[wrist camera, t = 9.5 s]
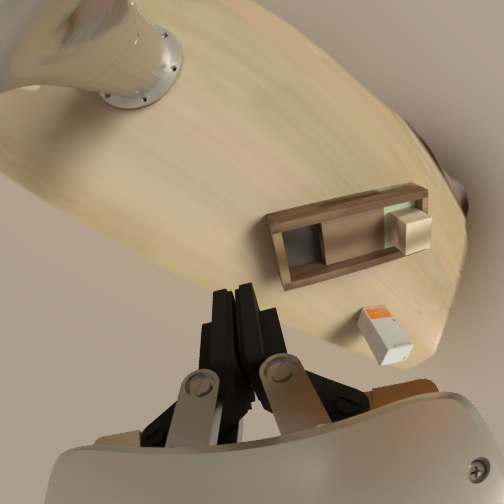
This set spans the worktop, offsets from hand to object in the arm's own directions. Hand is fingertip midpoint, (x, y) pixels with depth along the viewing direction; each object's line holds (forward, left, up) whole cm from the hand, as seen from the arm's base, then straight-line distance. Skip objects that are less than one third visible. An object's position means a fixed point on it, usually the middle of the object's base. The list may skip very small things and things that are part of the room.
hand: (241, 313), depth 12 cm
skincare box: (+31, +20, -27) cm, 46 cm away
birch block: (+11, +24, -25) cm, 36 cm away
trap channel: (+11, +16, -27) cm, 33 cm away
